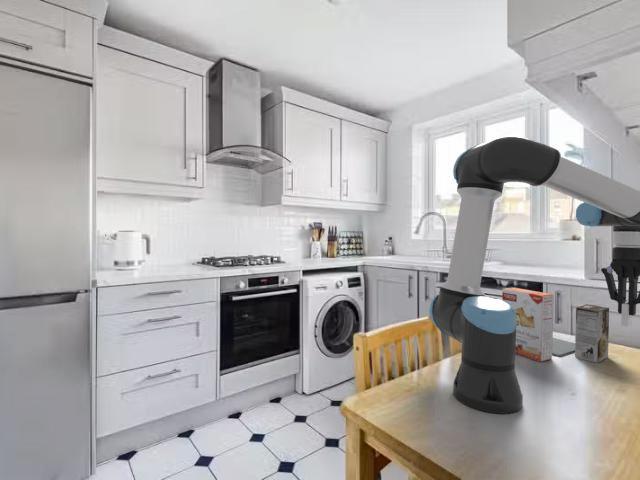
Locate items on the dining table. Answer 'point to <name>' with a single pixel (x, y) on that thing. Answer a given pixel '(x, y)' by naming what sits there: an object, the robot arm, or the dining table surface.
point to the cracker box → (532, 322)
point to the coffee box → (592, 332)
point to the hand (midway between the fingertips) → (626, 325)
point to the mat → (562, 347)
